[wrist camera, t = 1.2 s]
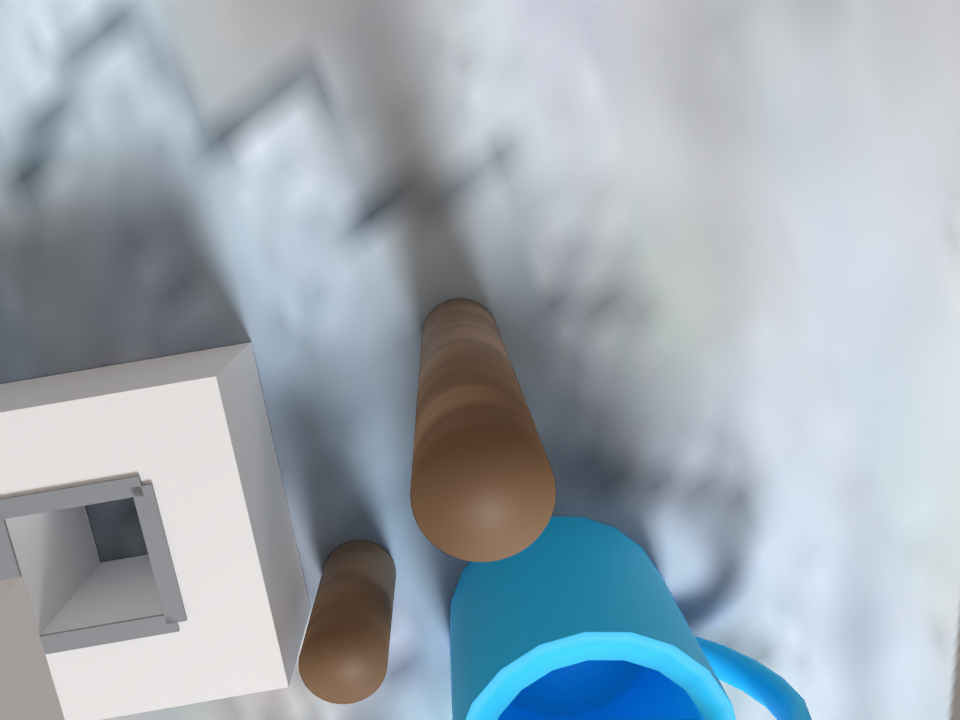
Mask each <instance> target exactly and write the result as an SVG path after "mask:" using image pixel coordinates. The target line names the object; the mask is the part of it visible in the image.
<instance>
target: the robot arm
mask: <svg viewBox="0 0 960 720" xmlns="http://www.w3.org/2000/svg"><path fill="white" fill-rule="evenodd" d="M0 720H65V719H64V715H63V712H62V708H61V705H60V702H59V698H58V695H57V692H56V688H55V685H54V682H53V678H52V675H51V672H50V668H49V665H48V662H47V658H46V655H45V652H44V648H43V645H42V642H41V638H40V635H39V632H38V628H37V625H36V622H35V618H34V615H33V612H32V608H31V605H30V602H29V598H28V595H27V592H26V588H25V585H24V582H23V578H22V577H18V578H12V579H6V580H0Z"/></svg>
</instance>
